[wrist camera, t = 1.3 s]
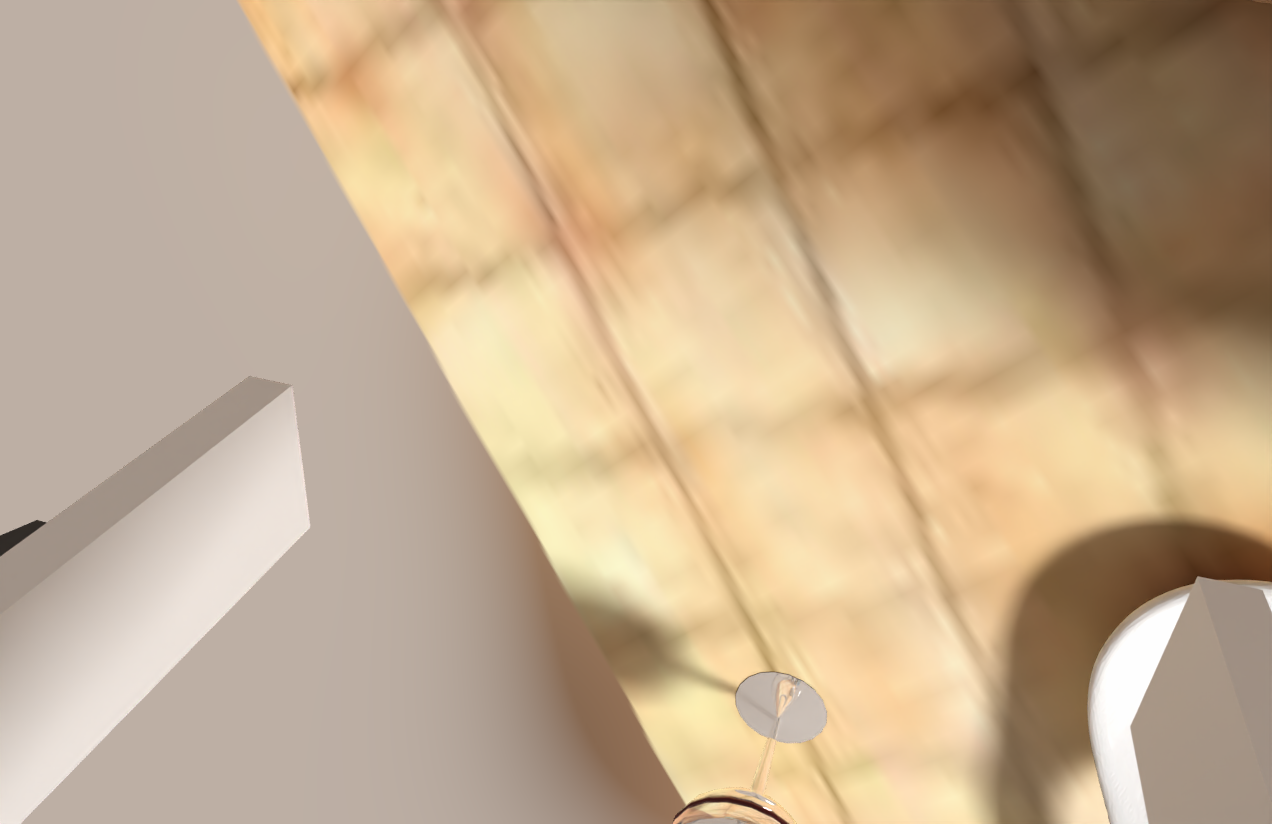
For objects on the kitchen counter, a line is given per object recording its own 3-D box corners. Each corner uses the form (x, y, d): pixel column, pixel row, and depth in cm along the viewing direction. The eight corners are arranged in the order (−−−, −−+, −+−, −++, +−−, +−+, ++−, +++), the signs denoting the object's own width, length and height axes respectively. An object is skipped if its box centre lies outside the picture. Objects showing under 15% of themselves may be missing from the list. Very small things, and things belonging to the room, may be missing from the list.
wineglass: (779, 771, 56) (727, 969, 46) (694, 691, 55) (623, 873, 45) (871, 726, 52) (836, 929, 42) (781, 639, 51) (725, 825, 41)
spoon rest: (1124, 513, 42) (1142, 618, 36) (1442, 578, 39) (1518, 704, 33) (1000, 868, 54) (998, 992, 48) (1238, 940, 51) (1267, 1082, 45)
